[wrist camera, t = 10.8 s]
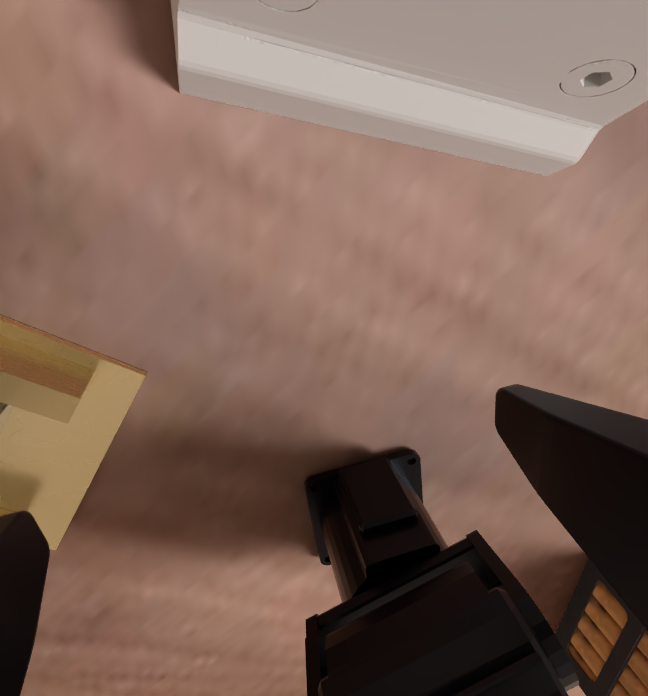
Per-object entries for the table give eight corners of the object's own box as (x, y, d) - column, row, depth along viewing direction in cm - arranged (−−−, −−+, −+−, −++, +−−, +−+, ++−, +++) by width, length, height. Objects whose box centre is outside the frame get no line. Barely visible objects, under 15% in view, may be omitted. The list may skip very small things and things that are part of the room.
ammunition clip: (568, 642, 37) (711, 840, 27) (549, 646, 37) (687, 849, 26) (612, 547, 33) (802, 735, 22) (592, 549, 33) (775, 743, 22)
